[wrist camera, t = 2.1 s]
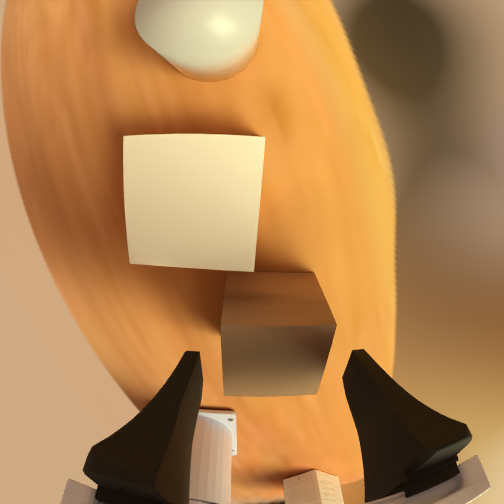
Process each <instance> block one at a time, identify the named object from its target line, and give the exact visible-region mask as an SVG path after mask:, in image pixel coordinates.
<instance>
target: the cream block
mask: <svg viewBox="0 0 504 504" xmlns="http://www.w3.org/2000/svg"><path fill="white" fill-rule="evenodd" d="M264 147H265V137H257V136H242V135H221V134H152V135H132V136H124V138H123V178H124V204H125V220H126V232H127V243H128V253H129V261H130V264H141V265H154V266H168V267H182V268H197V269H212V270H228V271H245V272H254V266H255V254H256V242H257V231H258V219H259V207H260V195H261V184H262V172H263V160H264Z"/></svg>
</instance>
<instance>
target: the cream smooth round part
mask: <svg viewBox="0 0 504 504" xmlns="http://www.w3.org/2000/svg"><path fill="white" fill-rule="evenodd" d="M262 9H263V0H139V1H138V4H137V6H136V10H135V25H136V29H137V31H138V33H139V35H140V36H141V38H142V39H143V40H144V41H145V42H146V43H147V44H148V45H149V46H150V47H152V48H153V49H154V50H155V51H156V52H158V53H159V54H160V55H161V56H162V57H163V58H164V59H166V60H167V61H168V62H169V63H170V64H171V65H172V66H174V67H175V68H176V69H177V70H178V71H179V72H180V73H182V74H183V75H185V76H186V77H188V78H191V79H193V80H197V81H202V82H216V81H222V80H225V79H228V78H231V77H233V76H235V75H237V74H238V73H240V72H241V71H243V70H244V69H245V68H246V67H247V66H248V65H249V64H250V62H251V61H252V59H253V58H254V56H255V54H256V50H257V46H258V38H259V30H260V23H261V16H262Z"/></svg>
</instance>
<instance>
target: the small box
mask: <svg viewBox="0 0 504 504" xmlns="http://www.w3.org/2000/svg"><path fill="white" fill-rule="evenodd" d="M283 488H284V497H285V504H344V501H343V497H342V492H341V487H340V483H339V478H338V476H335V475H331V474H328V473H325V472H322V471H319V470H316V469H314V470H311V471H309V472H306V473H303V474H299V475H296V476H293V477H290V478H286V479H283Z"/></svg>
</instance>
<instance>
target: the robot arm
mask: <svg viewBox="0 0 504 504" xmlns="http://www.w3.org/2000/svg"><path fill="white" fill-rule="evenodd" d="M342 378H343V384H344V389H345V394H346V398H347V401H348V404H349V407H350V410H351V413H352V416H353V419H354V422H355V426H356V429H357V432H358V436H359V441H360V447H361V453H362V460H363V469H364V482H365V503H364V504H468V503H470V502H471V501H473V500H474V499H476V498H477V497H479V496H480V495H482V494H483V493H485V492H486V491H488V490H489V489H490V488H491V486H490V484H489V481H488V479H487V477H486V474H485V472H484V469H483V467H482V465H481V462H480V460H479V458H478V456H477V455H475V456H473V457H471V458H470V459H468V460H466V461H464V462H462V463H461V464H459V465H458V466H457V464H456V461H458V457H457V454H458V453H459V452H460V451H461V450H462V449H463V448H465V446H467V445H468V443H469V442H470V441H471V440H472V435H471V433H470V431H469V429H468V427H467V425H466V424H464V423H461V422H459V421H456V420H453V419H450V418H448V417H446V416H444V415H441V414H440V413H438V412H436V411H434V410H433V409H431V408H429V407H428V406H426V405H424V404H423V403H421V402H420V401H418V400H417V399H416V398H414V397H413V396H412V395H410V394H409V393H408V392H407V391H405V390H404V389H403V388H402V387H401V386H399V385H398V384H397V383H396V382H395V381H394V380H393V379H392V378H391V377H390V376H389V375H388V374H387V373H386V372H385V371H384V370H383V369H382V368H381V367H380V366H379V365H378V364H377V363H376V362H375V361H374V360H373V359H372V357H371V356H370V355H369V354H368V353H367V352H366V351H365V350H364V349H360V350H352V353H351V355H350V358H349V361H348V364H347V367H346V369H345V372H344V375H343V377H342ZM202 387H203V375H202V367H201V359H200V352H196V351H186V352H184V354H183V356H182V358H181V360H180V362H179V363H178V365H177V366H176V368H175V370H174V371H173V373H172V374H171V376H170V377H169V378H168V380H167V381H166V383H165V384H164V385H163V387H162V388H161V389H160V390H159V392H158V393H157V394H156V395H155V397H154V398H153V399H152V400H151V401H150V402H149V403H148V404H147V406H146V407H145V408H144V409H143V410H142V411H141V412H139V413H138V414H137V415H136V416H135V417H134V418H133V419H132V420H131V421H129V422H128V423H127V424H126V425H124V426H123V427H122V428H120V429H119V430H118V431H116V432H115V433H114V434H112V435H111V436H109V437H108V438H106V439H104V440H102V441H101V442H99V443H97V444H96V445H94V446H92V448H91V450H90V452H89V454H88V456H87V459H86V462H85V465H84V468H83V472H84V474H85V475H86V476H88V477H89V478H90V479H91V480H92V481H94V482H95V483H96V484H97V485H98V487H97V490H96V489H93V488H91V487H89V486H87V485H84V484H81V483H79V482H76V481H74V480H71V479H68V482H67V484H66V488H65V491H64V494H63V497H62V501H61V504H230V500H231V457H232V456H233V455H236V454H237V436H236V413H235V412H233V411H222V410H205V409H199V408H200V403H201V398H202Z"/></svg>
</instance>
